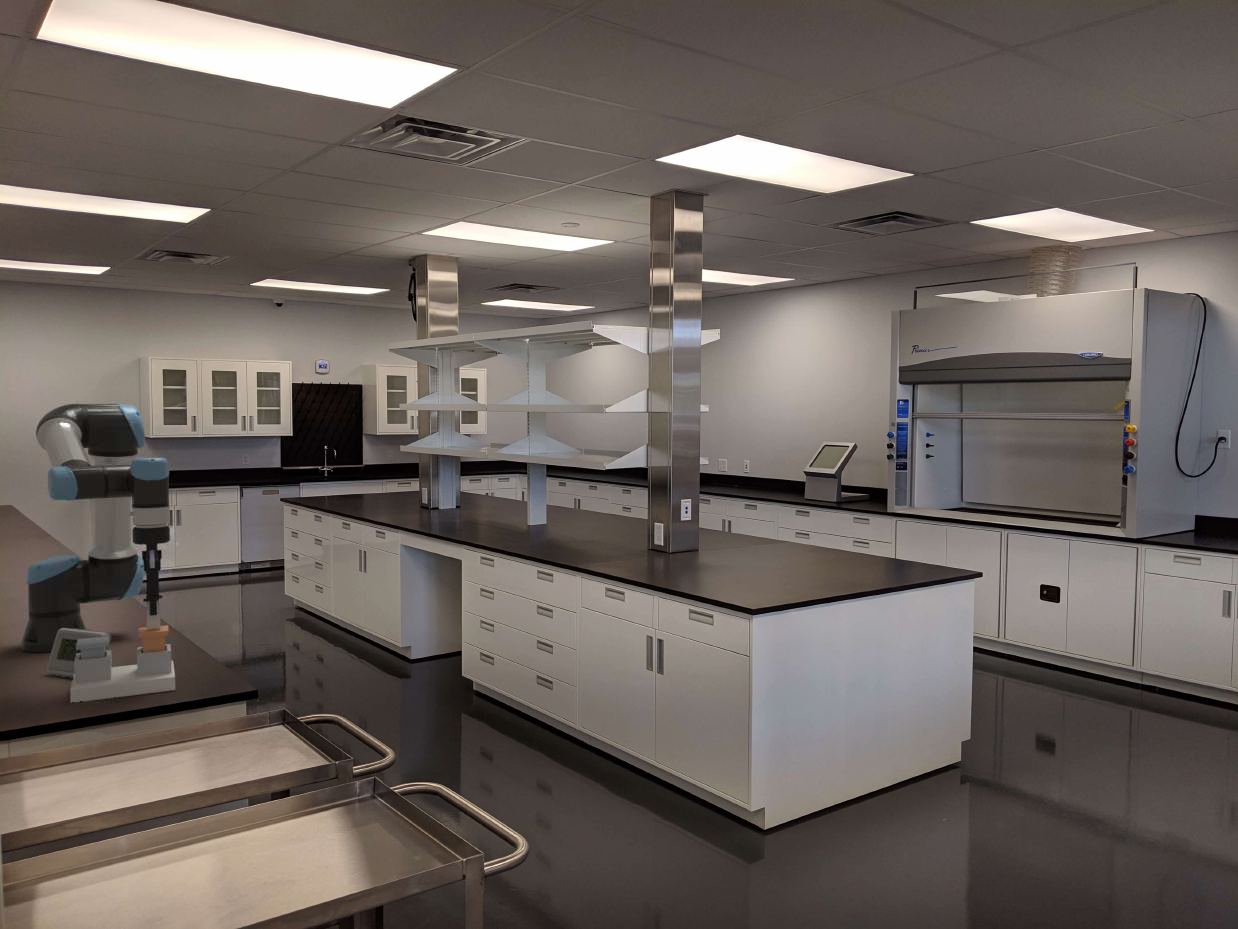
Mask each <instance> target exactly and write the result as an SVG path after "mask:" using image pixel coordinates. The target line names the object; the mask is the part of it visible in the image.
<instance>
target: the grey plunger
mask: <svg viewBox="0 0 1238 929" xmlns="http://www.w3.org/2000/svg"><path fill="white" fill-rule="evenodd" d="M108 644H109V636H107V637H96V638H86V639H78V641H77V644H76V650H80V649H81V659H90V658H99V657H105V647H108Z"/></svg>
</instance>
